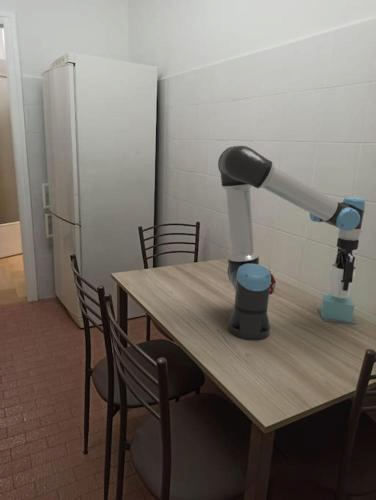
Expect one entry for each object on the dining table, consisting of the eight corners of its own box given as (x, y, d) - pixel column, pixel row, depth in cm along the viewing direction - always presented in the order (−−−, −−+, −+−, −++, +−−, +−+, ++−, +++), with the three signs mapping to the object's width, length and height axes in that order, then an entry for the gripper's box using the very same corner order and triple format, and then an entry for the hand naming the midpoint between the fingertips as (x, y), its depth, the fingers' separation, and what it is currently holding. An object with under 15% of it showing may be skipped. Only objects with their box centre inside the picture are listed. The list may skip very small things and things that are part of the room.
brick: (351, 322, 141) (354, 305, 139) (321, 317, 144) (324, 301, 142) (349, 313, 149) (351, 297, 148) (320, 309, 153) (323, 293, 151)
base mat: (356, 324, 141) (356, 323, 140) (324, 321, 142) (324, 320, 142) (346, 311, 152) (346, 310, 152) (317, 309, 153) (317, 308, 153)
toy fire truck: (276, 294, 168) (279, 273, 166) (250, 294, 167) (252, 272, 164) (272, 288, 175) (274, 268, 172) (247, 288, 174) (248, 267, 171)
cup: (347, 292, 149) (352, 264, 146) (354, 300, 140) (359, 270, 137) (324, 290, 150) (329, 262, 146) (330, 298, 141) (335, 269, 138)
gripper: (368, 245, 128) (358, 304, 134) (349, 233, 149) (341, 285, 154) (346, 243, 129) (337, 302, 135) (331, 232, 149) (323, 283, 155)
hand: (339, 293), depth 144 cm, fingers closed on cup, 8 cm apart
